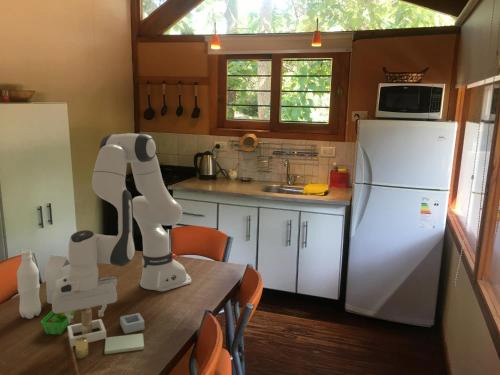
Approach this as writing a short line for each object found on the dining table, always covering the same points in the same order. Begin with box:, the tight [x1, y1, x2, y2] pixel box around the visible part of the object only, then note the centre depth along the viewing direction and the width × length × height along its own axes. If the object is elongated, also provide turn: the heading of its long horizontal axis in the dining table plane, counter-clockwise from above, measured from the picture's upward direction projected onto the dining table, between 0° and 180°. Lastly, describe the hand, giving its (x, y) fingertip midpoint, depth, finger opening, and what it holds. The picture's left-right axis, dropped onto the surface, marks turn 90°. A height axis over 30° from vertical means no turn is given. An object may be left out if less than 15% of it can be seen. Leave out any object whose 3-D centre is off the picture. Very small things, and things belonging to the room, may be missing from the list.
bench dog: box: [75, 337, 89, 359], centre depth 131 cm, size 4×4×6 cm
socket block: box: [119, 312, 146, 335], centre depth 149 cm, size 7×7×4 cm
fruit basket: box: [40, 310, 76, 335], centre depth 147 cm, size 11×9×11 cm
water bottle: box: [16, 249, 42, 320], centre depth 154 cm, size 7×7×25 cm
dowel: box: [80, 307, 93, 335], centre depth 141 cm, size 3×3×10 cm
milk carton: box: [44, 254, 70, 305], centre depth 166 cm, size 7×7×19 cm
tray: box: [67, 318, 107, 350], centre depth 142 cm, size 11×9×4 cm
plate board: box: [104, 333, 145, 355], centre depth 138 cm, size 12×8×2 cm, turn 106°
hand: (86, 318), depth 141 cm, fingers open, 8 cm apart
